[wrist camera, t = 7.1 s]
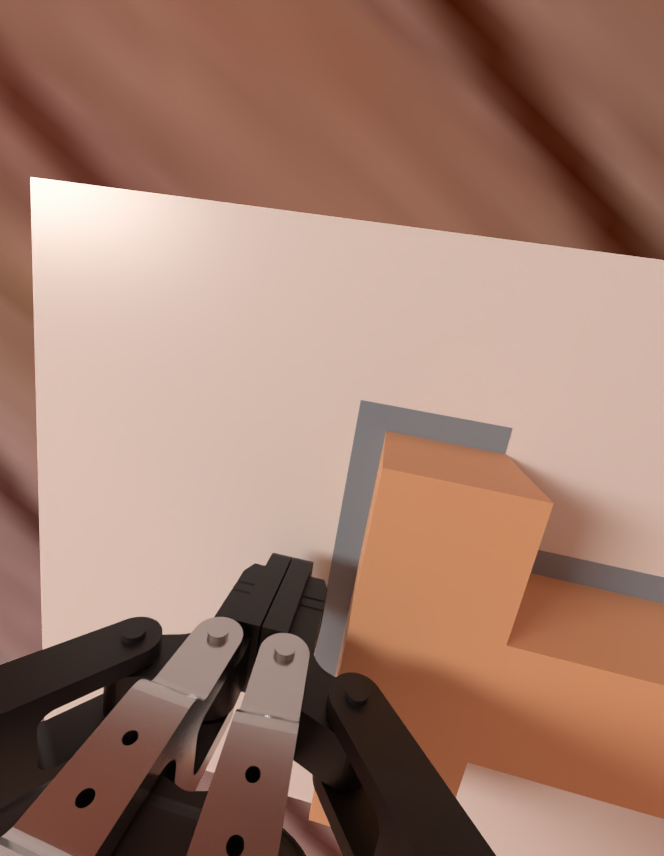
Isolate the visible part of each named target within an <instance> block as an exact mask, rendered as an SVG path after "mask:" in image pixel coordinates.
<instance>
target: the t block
mask: <svg viewBox="0 0 664 856" xmlns="http://www.w3.org/2000/svg"><path fill="white" fill-rule="evenodd" d="M553 504H554V503H553V502H552V501H551V500H550V499H549V498H548V497H547V496H546V495H545V494H544V493H543V492H542V491H541V490H540V489H539V488H538V487H537V486H536V485H535V484H534V483H533V482H532V481H531V480H530V479H529V478H528V477H527V476H526V475H525V474H524V473H523V471H522V470H521V469H520V468H519V467H518V466H517V465H516V464H515V463H514V462H513V461H512V460H511V459H510V458H509V457H508V456H507V455H506V454H501V453H496V452H491V451H486V450H481V449H476V448H471V447H466V446H461V445H456V444H451V443H446V442H441V441H436V440H430V439H425V438H420V437H415V436H410V435H405V434H400V433H395V432H390V431H386V433H385V438H384V443H383V448H382V453H381V457H380V462H379V467H378V472H377V477H376V481H375V486H374V491H373V496H372V501H371V506H370V510H369V515H368V520H367V525H366V530H365V535H364V539H363V544H362V549H361V554H360V559H359V564H358V568H357V573H356V578H355V583H354V588H353V593H352V597H351V602H350V607H349V612H348V617H347V622H346V626H345V631H344V636H343V641H342V646H341V651H340V655H339V660H338V665H337V670H336V675H335V677H337V676H338V675H341V674H343V673H348V672H354V673H359V674H362V675H364V676H366V677H368V678H370V679H371V680H372V681H373V682H374V683H375V684H376V685H377V686H378V687H379V689H380V690H381V692H382V693H383V694H384V696H385V697H386V699H387V700H388V702H389V703H390V704H391V706H392V707H393V709H394V710H395V712H396V713H397V715H398V716H399V717H400V719H401V720H402V722H403V723H404V725H405V726H406V727H407V729H408V730H409V732H410V733H411V735H412V736H413V737H414V739H415V740H416V742H417V743H418V745H419V746H420V747H421V749H422V750H423V752H424V753H425V755H426V756H427V757H428V759H429V760H430V762H431V763H432V765H433V766H434V767H435V769H436V770H437V772H438V773H439V775H440V776H441V777H442V779H443V780H444V782H445V783H446V785H447V786H448V787H449V789H450V790H451V792H452V793H453V795H454V796H455V797H456V796H457V793H458V790H459V787H460V784H461V781H462V778H463V775H464V772H465V769H466V766H467V763H471V764H475V765H478V766H482V767H485V768H489V769H492V770H496V771H499V772H502V773H506V774H509V775H513V776H516V777H520V778H523V779H527V780H530V781H534V782H537V783H541V784H544V785H547V786H551V787H554V788H558V789H561V790H565V791H568V792H572V793H575V794H579V795H582V796H586V797H589V798H592V799H596V800H599V801H603V802H606V803H610V804H613V805H617V806H620V807H624V808H627V809H630V810H634V811H637V812H641V813H644V814H648V815H651V816H655V817H658V818H662V819H664V604H663V603H658V602H654V601H650V600H645V599H641V598H637V597H632V596H628V595H624V594H619V593H615V592H611V591H606V590H602V589H597V588H593V587H589V586H584V585H580V584H576V583H571V582H567V581H563V580H558V579H554V578H550V577H545V576H541V575H537V574H532V573H531V570H532V567H533V564H534V561H535V558H536V555H537V552H538V549H539V546H540V543H541V540H542V537H543V534H544V531H545V528H546V525H547V522H548V519H549V516H550V513H551V510H552V507H553ZM309 820H311V821H314V822H317V823H321V824H324V825H327V826H330V824H329V822H328V819H327V817H326V815H325V812H324V810H323V808H322V805H321V803H320V801H319V798H318V796H317V794H316V791H315V788H314V792H313V798H312V804H311V809H310V815H309ZM330 827H331V826H330Z"/></svg>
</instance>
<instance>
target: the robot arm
mask: <svg viewBox="0 0 664 856" xmlns="http://www.w3.org/2000/svg"><path fill="white" fill-rule="evenodd" d="M312 570H313V562H312V561H307V560H303V559H299V558H295V557H294V558H293V557H290V556H286V555H281V554H277V553H272V555H271V557H270V558H269V560H268V562H267V564H266V565H265V566H264V565H260V564H256V563H255V564H253V565H252V566H250V567H249V568H247V569H245V570H244V571H243V573H242V574H241V576H240V578H239V579H238V582H236V584H235V585H234V587H233V589H232V590H231V592H230V593H229V595H228V596H227V598H226V599H225V601H224V602H223V604H222V606H221V607H220V609H219V610H218V612H217V613H216V615H215V616H214V617H213V618H209V619H207V620H204V621H203V622H201V623H200V624H198V625H197V626H196V628H195V629H194V630H193V631H192V633H188V634H167V635H162V627H161V625H160V624H159V622H157V621H156V620H154V619H152V618H149V617H134V618H129V619H126V620H123V621H120V622H118V623H115V624H112V625H109V626H107V627H104V628H101V629H98V630H96V631H93V632H90V633H87V634H85V635H82V636H79V637H76V638H74V639H71V640H68V641H65V642H63V643H60V644H57V645H54V646H52V647H49V648H46V649H43V650H41V651H38V652H35V653H32V654H29V655H27V656H24V657H21V658H18V659H16V660H13V661H10V662H7V663H5V664H2V665H0V856H306V854H305V853H304V851H303V850H302V848H301V847H300V845H299V844H298V843H297V842H296V840H295V839H294V838H293V837H292V836H291V835H290V834H289V833H288V832H287V831H286V830H285V829H284V828H283V821H284V815H285V809H286V802H287V796H288V790H289V784H290V777H291V771H292V765H293V760H294V761H295V762H297V763H298V764H299V765H301V766H302V767H303V768H305V769H306V770H307V771H309V772H310V773H311V774H312V780H313V786H314V788H315V791H316V794H317V796H318V798H319V801H320V803H321V805H322V808H323V810H324V812H325V815H326V817H327V819H328V822H329V824H330V826H331V829H332V831H333V833H334V836H335V838H336V840H337V843H338V845H339V847H340V850H341V852H342V854H343V856H496V855H495V853H494V852H493V850H492V849H491V848H490V846H489V845H488V843H487V842H486V840H485V839H484V838H483V836H482V835H481V833H480V832H479V830H478V829H477V827H476V826H475V825H474V823H473V822H472V820H471V819H470V817H469V816H468V815H467V813H466V812H465V810H464V809H463V807H462V806H461V805H460V803H459V802H458V800H457V799H456V797H455V796H454V795H453V793H452V792H451V790H450V789H449V787H448V786H447V785H446V783H445V782H444V780H443V779H442V777H441V776H440V775H439V773H438V772H437V770H436V769H435V767H434V766H433V765H432V763H431V762H430V760H429V759H428V757H427V756H426V755H425V753H424V752H423V750H422V749H421V747H420V746H419V745H418V743H417V742H416V740H415V739H414V737H413V736H412V735H411V733H410V732H409V730H408V729H407V727H406V726H405V725H404V723H403V722H402V720H401V719H400V717H399V716H398V715H397V713H396V712H395V710H394V709H393V707H392V706H391V704H390V703H389V702H388V700H387V699H386V697H385V696H384V694H383V693H382V692H381V690H380V689H379V687H378V686H377V685H376V684H375V683H374V682H373V681H372V680H371V679H370V678H368V677H366V676H364V675H362V674H359V673H354V672H348V673H343V674H341V675H338V676H337V677H334V676H332V675H331V674H329V673H328V672H326V671H325V670H324V669H323V668H322V667H321V666H320V665H319V664H318V662H317V661H316V659H315V656H314V653H315V649H316V645H317V641H318V637H319V633H320V629H321V624H322V618H323V613H324V607H325V602H326V597H327V591H328V590H327V587H326V584H325V581H324V580H323V579H319V578H315V577H311V576H312ZM103 687H104V692H103V694H101V695H99V696H97V697H94V698H92V699H90V700H88V701H86V702H84V703H82V704H79V705H77V706H75V707H73V708H71V709H69V710H67V711H65V712H62V713H60V714H58V715H56V716H54V717H52V718H50V719H47V720H45V721H42V722H41V720H42V719H43V718H44V717H45V716H46V715H47V714H49V713H50V712H52V711H53V710H55V709H57V708H59V707H61V706H63V705H66V704H68V703H70V702H72V701H74V700H77V699H79V698H81V697H83V696H85V695H88V694H90V693H92V692H94V691H96V690H98V689H101V688H103ZM241 692H244V693H245V695H244V698H243V701H242V704H241V707H240V709H237V710H236V711H235V714H234V716H233V710H234V706H235V704H236V702H237V700H238V697H239V695H240V693H241ZM232 716H233V719H232ZM231 719H232V722H231V725H230V728H229V731H228V734H227V737H226V740H225V743H224V746H223V749H222V751H221V754H220V757H219V760H218V763H217V766H216V769H215V772H214V775H213V778H212V781H211V784H210V787H209V790H208V791H195V790H196V788H197V786H198V784H199V782H200V780H201V778H202V776H203V774H204V772H205V770H206V768H207V766H208V764H209V762H210V760H211V758H212V756H213V754H214V752H215V750H216V748H217V746H218V744H219V742H220V740H221V738H222V737H223V735H224V733H225V731H226V729H227V727H228V725H229V723H230V721H231Z"/></svg>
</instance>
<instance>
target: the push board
mask: <svg viewBox="0 0 664 856" xmlns="http://www.w3.org/2000/svg"><path fill="white" fill-rule="evenodd" d="M30 190H31V228H32V266H33V304H34V342H35V381H36V419H37V457H38V495H39V533H40V571H41V610H42V648H43V649H46V648H49V647H52V646H54V645H57V644H60V643H63V642H65V641H68V640H71V639H74V638H76V637H79V636H82V635H85V634H87V633H90V632H93V631H96V630H98V629H101V628H104V627H107V626H109V625H112V624H115V623H118V622H120V621H123V620H126V619H129V618H134V617H149V618H152V619H154V620H156V621H157V622H159V624H160V625H161V627H162V635H167V634H188V633H192V631H193V630H194V629H195V628H196V626H197V625H198V624H200V623H201V622H203V621H204V620H207V619H209V618H213V617H214V616H215V615H216V613H217V612H218V610H219V609H220V607H221V606H222V604H223V602H224V601H225V599H226V598H227V596H228V595H229V593H230V592H231V590H232V589H233V587H234V585H235V584H236V582H238V579H239V578H240V576H241V574H242V573H243V571H244V570H245V569H247V568H249V567H250V566H252V565H253V564H255V563H256V564H260V565H264V566H265V565H266V564H267V562H268V560H269V558H270V557H271V555H272V553H277V554H281V555H286V556H290V557H293V558H294V557H295V558H299V559H303V560H307V561H312V562H313V570H312V576H311V577H315V578H319V579H323V580H324V581H325V584H326V587H327V590H328V591H327V597H326V602H325V607H324V613H323V618H322V624H321V629H320V633H319V637H318V641H317V645H316V649H315V653H314V656H315V659H316V661H317V662H318V664H319V665H320V666H321V667H322V668H323V669H324V670H325V671H326V672H328V673H329V674H331V675H332V676H334V677H335V675H336V670H337V665H338V660H339V655H340V651H341V646H342V641H343V636H344V631H345V626H346V622H347V617H348V612H349V607H350V602H351V597H352V593H353V588H354V583H355V578H356V573H357V568H358V564H359V559H360V554H361V549H362V544H363V539H364V535H365V530H366V525H367V520H368V515H369V510H370V506H371V501H372V496H373V491H374V486H375V481H376V477H377V472H378V467H379V462H380V457H381V453H382V448H383V443H384V438H385V433H386V431H390V432H395V433H400V434H405V435H410V436H415V437H420V438H425V439H430V440H436V441H441V442H446V443H451V444H456V445H461V446H466V447H471V448H476V449H481V450H486V451H491V452H496V453H501V454H506V455H507V456H508V457H509V458H510V459H511V460H512V461H513V462H514V463H515V464H516V465H517V466H518V467H519V468H520V469H521V470H522V471H523V473H524V474H525V475H526V476H527V477H528V478H529V479H530V480H531V481H532V482H533V483H534V484H535V485H536V486H537V487H538V488H539V489H540V490H541V491H542V492H543V493H544V494H545V495H546V496H547V497H548V498H549V499H550V500H551V501H552V502H553V503H554V504H553V507H552V510H551V513H550V516H549V519H548V522H547V525H546V528H545V531H544V534H543V537H542V540H541V543H540V546H539V549H538V552H537V555H536V558H535V561H534V564H533V567H532V570H531V573H532V574H537V575H541V576H545V577H550V578H554V579H558V580H563V581H567V582H571V583H576V584H580V585H584V586H589V587H593V588H597V589H602V590H606V591H611V592H615V593H619V594H624V595H628V596H632V597H637V598H641V599H645V600H650V601H654V602H658V603H663V604H664V260H658V259H651V258H643V257H636V256H628V255H620V254H613V253H605V252H598V251H590V250H583V249H575V248H567V247H560V246H552V245H545V244H537V243H529V242H522V241H514V240H507V239H499V238H491V237H484V236H476V235H469V234H461V233H453V232H446V231H438V230H431V229H423V228H416V227H408V226H400V225H393V224H385V223H378V222H370V221H362V220H355V219H347V218H340V217H332V216H324V215H317V214H309V213H302V212H294V211H286V210H279V209H271V208H264V207H256V206H249V205H241V204H233V203H226V202H218V201H211V200H203V199H195V198H188V197H180V196H173V195H165V194H157V193H150V192H142V191H135V190H127V189H119V188H112V187H104V186H97V185H89V184H82V183H74V182H66V181H59V180H51V179H44V178H36V177H30ZM103 692H104V687H103V688H101V689H98V690H96V691H94V692H92V693H90V694H88V695H85V696H83V697H81V698H79V699H77V700H74V701H72V702H70V703H68V704H66V705H63V706H61V707H59V708H57V709H55V710H53V711H52V712H50V713H49V714H47V715H46V716H45V717H44V720H47V719H50V718H52V717H54V716H56V715H58V714H60V713H62V712H65V711H67V710H69V709H71V708H73V707H75V706H77V705H79V704H82V703H84V702H86V701H88V700H90V699H92V698H94V697H97V696H99V695H101V694H103ZM244 695H245V693H244V692H241V693H240V695H239V697H238V700H237V702H236V704H235V706H234V710H233V716H234V714H235V711H236V710H237V709H240V707H241V704H242V701H243V698H244ZM233 716H232V719H233ZM232 719H231V721H230V723H229V725H228V727H227V729H226V731H225V733H224V735H223V737H222V738H221V740H220V742H219V744H218V746H217V748H216V750H215V752H214V754H213V756H212V758H211V760H210V762H209V764H208V766H207V768H206V771H209V772H213V773H214V772H215V769H216V766H217V763H218V760H219V757H220V754H221V751H222V749H223V746H224V743H225V740H226V737H227V734H228V731H229V728H230V725H231V722H232ZM313 792H314V786H313V780H312V774H311V773H310V772H309V771H307V770H306V769H305V768H303V767H302V766H301V765H299V764H298V763H297V762H295V761H294V760H293V765H292V771H291V777H290V784H289V790H288V796H290V797H293V798H296V799H300V800H303V801H306V802H309V803H312V798H313ZM456 799H457V800H458V802H459V803H460V805H461V806H462V807H463V809H464V810H465V812H466V813H467V815H468V816H469V817H470V819H471V820H472V822H473V823H474V825H475V826H476V827H477V829H478V830H479V832H480V833H481V835H482V836H483V838H484V839H485V840H486V842H487V843H488V845H489V846H490V848H491V849H492V850H493V852H494V853H495V855H496V856H664V819H662V818H658V817H655V816H651V815H648V814H644V813H641V812H637V811H634V810H630V809H627V808H624V807H620V806H617V805H613V804H610V803H606V802H603V801H599V800H596V799H592V798H589V797H586V796H582V795H579V794H575V793H572V792H568V791H565V790H561V789H558V788H554V787H551V786H547V785H544V784H541V783H537V782H534V781H530V780H527V779H523V778H520V777H516V776H513V775H509V774H506V773H502V772H499V771H496V770H492V769H489V768H485V767H482V766H478V765H475V764H471V763H467V766H466V769H465V772H464V775H463V778H462V781H461V784H460V787H459V790H458V793H457V796H456Z"/></svg>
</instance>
